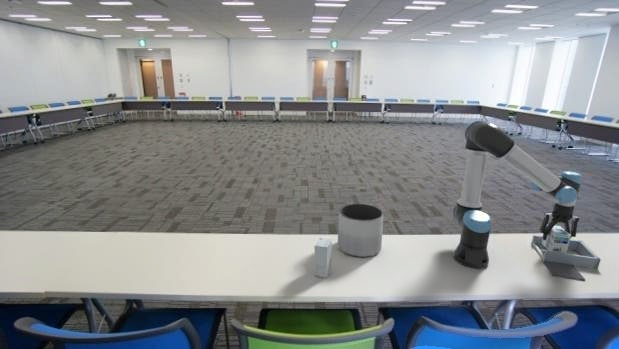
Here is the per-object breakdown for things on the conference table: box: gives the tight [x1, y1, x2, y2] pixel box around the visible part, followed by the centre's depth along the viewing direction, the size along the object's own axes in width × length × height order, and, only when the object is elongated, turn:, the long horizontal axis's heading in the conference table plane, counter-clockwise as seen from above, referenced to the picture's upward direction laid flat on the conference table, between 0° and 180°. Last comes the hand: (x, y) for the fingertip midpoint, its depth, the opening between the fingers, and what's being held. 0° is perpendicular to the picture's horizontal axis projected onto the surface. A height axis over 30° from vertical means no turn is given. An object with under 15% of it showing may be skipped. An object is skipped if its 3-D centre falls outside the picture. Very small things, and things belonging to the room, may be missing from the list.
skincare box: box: [314, 237, 332, 279], centre depth 144 cm, size 8×6×15 cm
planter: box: [337, 203, 384, 258], centre depth 165 cm, size 22×22×20 cm
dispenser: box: [531, 234, 601, 270], centre depth 162 cm, size 22×18×5 cm
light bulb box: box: [542, 224, 572, 254], centre depth 161 cm, size 11×7×11 cm, turn 168°
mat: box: [542, 260, 586, 281], centre depth 149 cm, size 12×12×1 cm
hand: (553, 247), depth 162 cm, fingers closed on light bulb box, 7 cm apart
